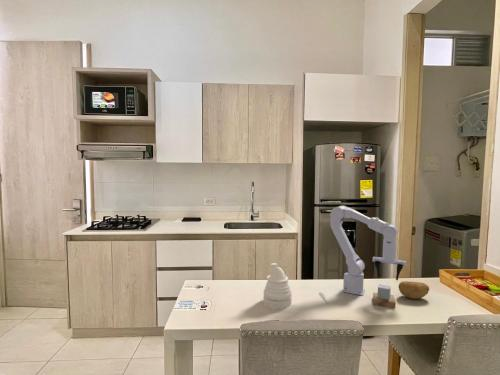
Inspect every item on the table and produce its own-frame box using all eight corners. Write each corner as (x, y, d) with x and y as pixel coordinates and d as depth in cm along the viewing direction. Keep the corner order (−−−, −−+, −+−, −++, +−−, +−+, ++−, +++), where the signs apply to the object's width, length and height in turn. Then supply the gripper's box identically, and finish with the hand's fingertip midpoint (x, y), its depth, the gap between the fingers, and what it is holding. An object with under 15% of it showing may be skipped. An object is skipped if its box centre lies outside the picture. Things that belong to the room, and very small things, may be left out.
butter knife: (324, 292, 163) (318, 291, 163) (340, 317, 136) (333, 317, 136) (324, 293, 163) (318, 292, 163) (340, 319, 136) (332, 318, 136)
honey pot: (259, 306, 147) (260, 266, 145) (268, 295, 159) (268, 259, 157) (287, 310, 142) (288, 270, 141) (294, 299, 154) (295, 262, 153)
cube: (377, 297, 151) (377, 287, 151) (378, 294, 156) (379, 283, 155) (389, 300, 149) (389, 289, 148) (390, 296, 153) (390, 285, 153)
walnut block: (373, 305, 149) (374, 299, 149) (373, 298, 158) (373, 292, 158) (395, 308, 147) (395, 302, 146) (393, 301, 155) (393, 295, 155)
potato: (433, 302, 153) (434, 286, 152) (402, 301, 154) (403, 285, 153) (423, 294, 163) (424, 278, 162) (394, 293, 163) (395, 277, 163)
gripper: (372, 250, 155) (370, 278, 156) (405, 254, 148) (404, 283, 149) (374, 246, 162) (373, 273, 162) (406, 250, 155) (405, 279, 156)
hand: (388, 278), depth 156 cm, fingers open, 7 cm apart
